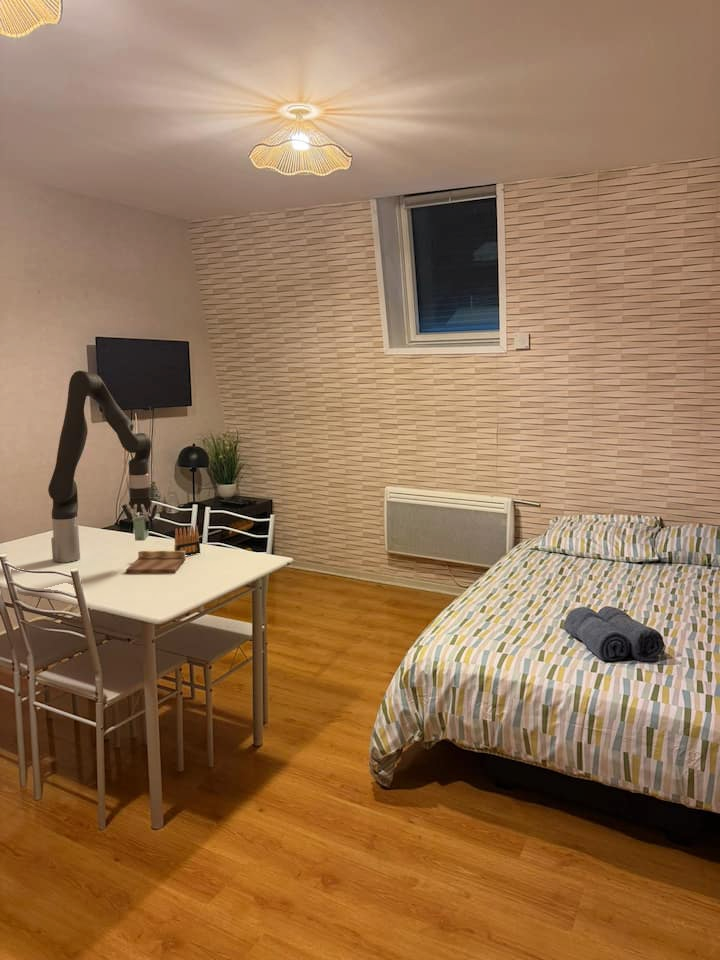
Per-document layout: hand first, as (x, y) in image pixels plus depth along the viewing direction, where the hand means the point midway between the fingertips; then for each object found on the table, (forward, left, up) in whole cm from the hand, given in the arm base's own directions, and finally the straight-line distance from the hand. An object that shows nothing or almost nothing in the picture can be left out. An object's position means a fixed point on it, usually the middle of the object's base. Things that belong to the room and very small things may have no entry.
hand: (141, 529), depth 258 cm
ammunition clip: (+14, +13, -14) cm, 24 cm away
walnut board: (+6, -3, -14) cm, 15 cm away
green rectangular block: (0, 0, -3) cm, 3 cm away
